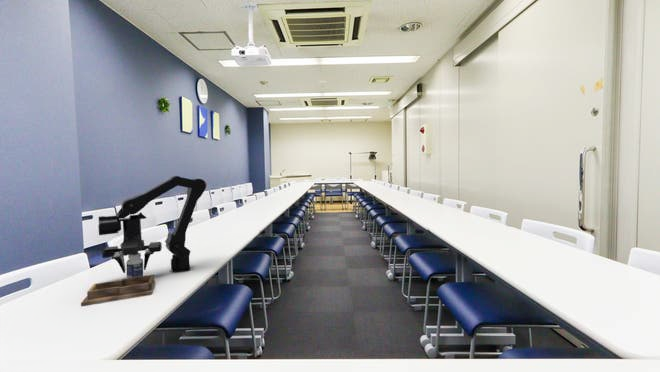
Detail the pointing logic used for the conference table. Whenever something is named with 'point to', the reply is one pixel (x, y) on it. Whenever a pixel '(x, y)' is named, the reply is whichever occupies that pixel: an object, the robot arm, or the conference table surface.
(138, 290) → the keyhole track
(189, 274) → the conference table surface
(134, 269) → the pill bottle
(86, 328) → the conference table surface
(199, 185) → the robot arm
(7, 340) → the conference table surface
